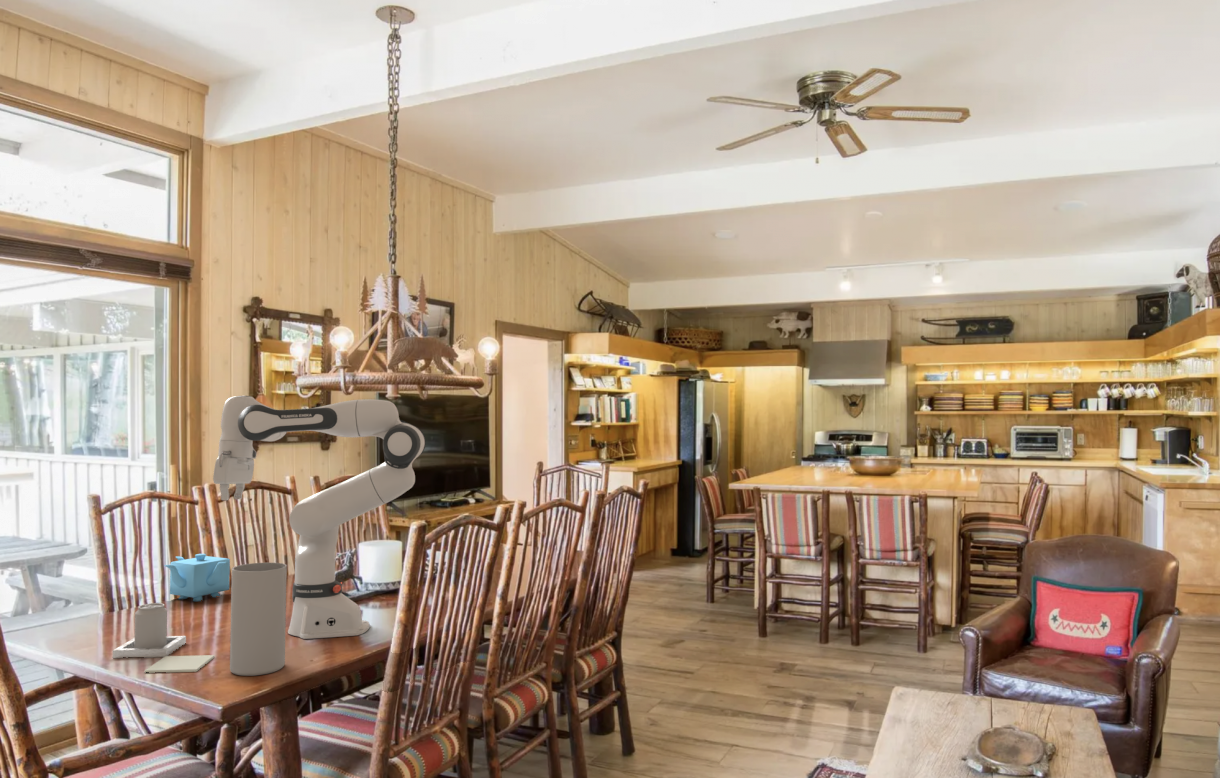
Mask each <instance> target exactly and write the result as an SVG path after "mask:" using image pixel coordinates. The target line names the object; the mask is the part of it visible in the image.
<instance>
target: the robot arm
mask: <svg viewBox="0 0 1220 778" xmlns="http://www.w3.org/2000/svg"><path fill="white" fill-rule="evenodd" d="M399 416H400V415H399V410H398V407H397V406H396V405H395V403H394V402H392V401H390V400H384V399H372V398H371V399H368V398H367V399H365V398H364V399H363V398H362V399H353V400H352V399H351V400H344V401H339V402H335V403H330V404H327V405H323V406H317V407H312V408H311V407H310V408H309V407H308V408H296V409H275V408H272V407H270V406H268V405H265V404H264V403H261V402H259V401H258V400H257V399H255V398H254V397H253V396H251V395H236V396H231V397H228V399H226V400H225V402H224V404H223V408H222V412H221V421H220V428H221V435H220V436H219V437H220V438H219V442H218V455H217V456H218V457H217V458H216V460H215V463H214V469H213V474H212V475H213V476H212V477H213V478H212V480H213V483H214V484H215V485H216V484H217V485H219V490H220V500H221V501H229V500H230V495H231V494H230V492H229V491H230V490H229V488H230V484H231V485H235V492H234V493H233V499H234V500H242V498H243V492H244V490H245V487H246V485H247V484H251V482H252V480H253V476H254V469H255V459H257V454H258V453H257V451H256V449H254V446H253V443H254V442H256V441H257V442H259V441H262V442H275V441H278V440H281V439H283V438H284V436H286V434H287V433H289V432H290V433H292V432H309V431H310V432H318V433H323V434H327V435H330V436H335V437H341V438H364V437H365V438H366V437H377V438H380V439H382V450H383V457H384V462H382V463H380V464H379V465H377V466H375V467H373V468H370V469H368V470H366V471H364V472H361V473H358V474H357V475H355V476H352V477H350V478H348V479H347V480H344V481H342V482H338V483H337V484H335V485H333V486H330V487H328V488H326V489H323V490H321V491H320V492H319V491H318V492H317V493H314V494H312V495H310V496H308V497H306V498H303V499H302V500H299V501H298V502H297V503H296V504H295V505H294V507H293V508H292V510H291V512H290V514H289V518H288V519H289V525H290V529H292V531H293V532H294V533H295V534H297V535H299V537H298V544H297V548H296V552H295V556H294V562H295V563H294V582H293V585H292V596H291V597H292V602H293V606H292V613H291V619H290V623H289V627H288V630H287V633H288V634H289V635H290V636H295V637H299V638H301V639H302V640H303V639H304V640H306V639H307V640H309V639H323V638H325V639H326V638H337V637H354V636H360V635H362V634H364V633H366V632H367V631H368V630H369V629H370V622H369V621H367V620H363V617H362V616H363V615H362V611H361V608H360V606H359V604H357V603H356V602H355V601H353V600H352V599H350V598H349V597H348V596H346V595H345V594H343V593H342V591H343V581H341V582H339V581H338V580H336V551H337V544H338V537H339V530H340V529H339V528H340V525H343V524H345V523H347V522H349V521H351V520H353V519H355V518H357V517H359V516H362V515H364V514H366V513H369V512H370V511H372V510H374V509H376V508H378V507H381V506H383V505H385V504H388V503H389V502H392V501H393V500H395V499H397V498H399V497H400V496H402V495H403V494H405V493H406V492H407V491H409V490H410V489H412V488H413V487H414V485H415V483H416V475H415V471H414V469H413V463H414V461H415V460H416V459H417V458H419V457H420V456H421V455H422V454H423V453H424V451H425V448H426V445H427V442H426V441H427V440H426V436H425V434H424V433H423V431H422V429H420V428H419V427H418V426H415V425H413V424H411V423H408V422H407V421H405V420H403V419H400V417H399ZM253 441H254V442H253Z"/></svg>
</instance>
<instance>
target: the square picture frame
mask: <svg viewBox="0 0 1220 778" xmlns="http://www.w3.org/2000/svg"><path fill="white" fill-rule="evenodd" d="M134 639H135V637H133V638H131V639H130V640H128V641H126V642H125V643H122V644H121V645H119V646H118V647H116V648H114V649H113V650H112V659H124V658H123V657H126V658H125V659H129V658H128V657H144V658H164V657H165V656H170V655H171V654H172V653H174V652H175V651H177V650H178V649H180V648H181V647H183V646H184V645H186V644H187V636H186V635H167V644H166V646H164V647H163V648H134ZM185 643H186V644H185ZM182 645H183V646H182ZM179 647H180V648H179ZM176 649H177V650H176ZM173 651H174V652H173ZM169 654H170V655H169Z"/></svg>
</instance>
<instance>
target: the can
mask: <svg viewBox="0 0 1220 778" xmlns="http://www.w3.org/2000/svg"><path fill="white" fill-rule="evenodd" d="M167 625H168V609H167V608H166V607H165V604H164V603H160V602H154V603H144V604H141V605H138V606H137V610H136V611H135V613H134V638H135V639H134V648H163V647H164V646H166V644H167V636H168V632H167V630H168V626H167Z"/></svg>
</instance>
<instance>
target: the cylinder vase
mask: <svg viewBox="0 0 1220 778" xmlns="http://www.w3.org/2000/svg"><path fill="white" fill-rule="evenodd" d="M287 568H288V565H287V564H285V563H282V562H253V563H245V564H240V565H239V564H238V565H236V566H233V567H232V568H231V586H230V587H231V588H230V589H231V590H230V592H231V594H230V596H231V598H230V646H229V648H230V649H229V671H230V672H231V673H232V674H234V675H236V676H244V677H253V676H255V677H256V676H262V675H268V674H271V673H276V672H278V671H280V670H281V669H283V667H284V666H285V664H286V620H287V619H286V618H287V615H286V614H287V613H286V612H287Z"/></svg>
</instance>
